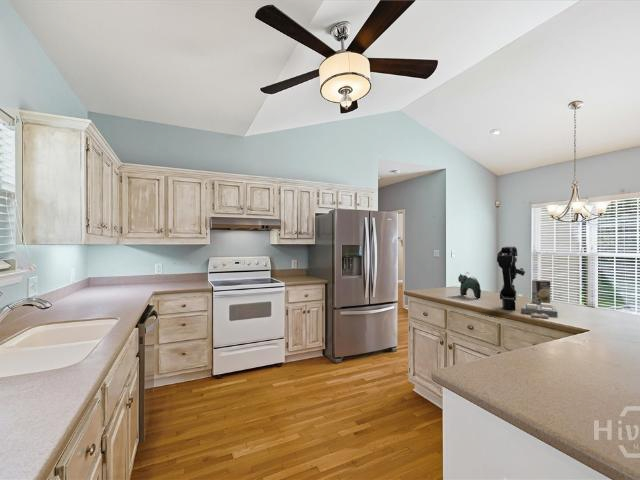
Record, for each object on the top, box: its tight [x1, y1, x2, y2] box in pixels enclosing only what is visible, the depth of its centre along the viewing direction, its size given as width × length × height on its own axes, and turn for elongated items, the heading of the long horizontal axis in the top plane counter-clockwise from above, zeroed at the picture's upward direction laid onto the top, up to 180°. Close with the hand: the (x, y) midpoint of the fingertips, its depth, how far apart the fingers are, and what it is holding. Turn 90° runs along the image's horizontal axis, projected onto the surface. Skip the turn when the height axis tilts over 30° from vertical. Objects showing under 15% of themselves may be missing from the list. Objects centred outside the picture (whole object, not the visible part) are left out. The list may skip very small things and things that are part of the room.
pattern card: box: [530, 313, 549, 320], centre depth 178 cm, size 8×8×1 cm
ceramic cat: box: [457, 271, 482, 299], centre depth 245 cm, size 20×6×20 cm, turn 17°
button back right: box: [540, 302, 552, 308], centre depth 190 cm, size 5×5×2 cm
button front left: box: [526, 303, 538, 309], centre depth 189 cm, size 5×5×2 cm
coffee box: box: [531, 279, 551, 305], centre depth 216 cm, size 9×6×16 cm
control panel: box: [521, 303, 558, 318], centre depth 190 cm, size 17×17×3 cm
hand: (510, 286), depth 209 cm, fingers closed
